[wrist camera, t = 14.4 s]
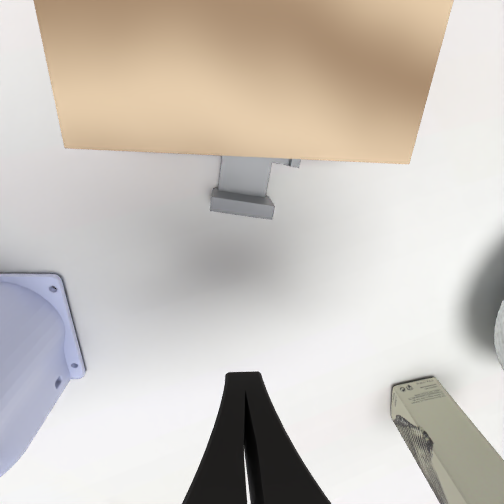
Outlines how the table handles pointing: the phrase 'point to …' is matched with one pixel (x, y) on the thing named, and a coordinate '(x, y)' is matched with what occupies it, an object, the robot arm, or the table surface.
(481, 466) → the box
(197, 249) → the table surface
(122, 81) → the small wooden stool
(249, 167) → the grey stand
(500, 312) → the cereal bowl
